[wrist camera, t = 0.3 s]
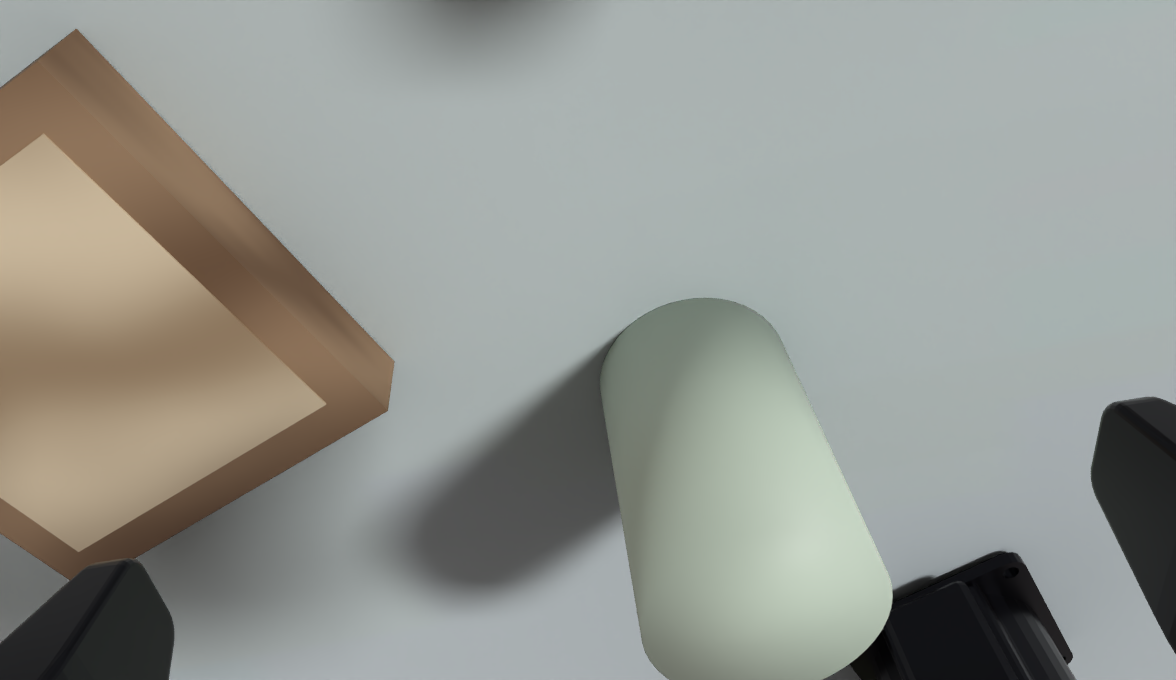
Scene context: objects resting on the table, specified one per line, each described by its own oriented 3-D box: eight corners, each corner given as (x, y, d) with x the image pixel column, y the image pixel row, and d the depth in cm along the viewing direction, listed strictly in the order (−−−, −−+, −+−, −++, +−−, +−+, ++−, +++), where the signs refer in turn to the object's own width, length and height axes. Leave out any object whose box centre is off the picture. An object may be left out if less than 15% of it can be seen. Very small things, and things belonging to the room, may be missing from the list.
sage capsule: (815, 394, 26) (928, 632, 19) (658, 476, 27) (714, 727, 21) (734, 264, 23) (831, 487, 17) (563, 360, 25) (593, 605, 18)
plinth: (394, 361, 24) (387, 411, 22) (107, 532, 26) (81, 589, 25) (76, 28, 19) (36, 61, 17) (-246, 278, 21) (-309, 328, 20)
